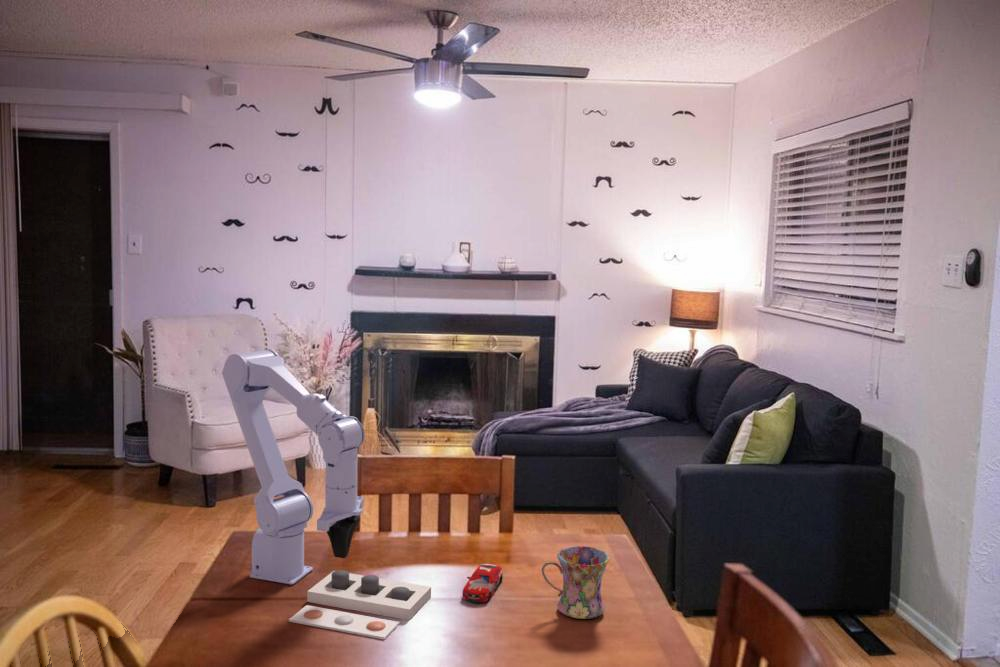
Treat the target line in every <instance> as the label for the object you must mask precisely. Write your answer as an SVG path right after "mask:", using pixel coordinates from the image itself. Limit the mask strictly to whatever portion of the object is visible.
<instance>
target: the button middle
mask: <svg viewBox="0 0 1000 667" xmlns="http://www.w3.org/2000/svg"><path fill="white" fill-rule="evenodd" d="M379 578H380V577H379V576H377V575H374V574H367V575H363V577H362V578H361V593H362V594H368V595H374V596H376V595H375V594H377V593H378V592H379Z"/></svg>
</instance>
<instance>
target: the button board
mask: <svg viewBox="0 0 1000 667" xmlns="http://www.w3.org/2000/svg"><path fill="white" fill-rule="evenodd" d="M334 571H335V570H333V571H331V572H330V573H329V574H327V575H326V576H325V577H324V578H323V579H321V580H320V581H319V582H317V583H315V585H314V586H312V587H311V588H309V589H308V590H307V591H306V592H307V595H306V596H307V599H306V600H307V601H306V602H307V603H312V604H318V605H324V606H327V607H328V606H329V607H335V608H340V609H344V610H350V611H351V610H352V611H356V612H362V613H367V614H372V615H379V616H385V617H390V618H396V619H399V620H407V621H410V620H412V618H414V616H415V615H416V614H417V613H418V612H419V611H420V610H421V608H422V607H424V606H425V604H427V603H428V602H429V600H430V599H431V597H432V586H428V585H427V586H426V585H421V584H416V583H409V582H404V581H403V582H402V581H399V580H398V581H397V580H392V579H387V578H380V577H379V592H378V593H377V594H375V595H368V594H362V593H361V578H362V577H363V576H364V575H363V574H362V575H361V574H356V573H351V572H349V588H347V589H345V590H340V589H334V588H332V573H333V572H334ZM395 587H406V588H408V589H409V599H408V600H407V601H402V600H397V599H391V590H392V589H393V588H395Z"/></svg>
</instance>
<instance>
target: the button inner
mask: <svg viewBox="0 0 1000 667" xmlns="http://www.w3.org/2000/svg"><path fill="white" fill-rule="evenodd" d="M333 571H334V572H333ZM333 571H332V572H333V573H332V572H331V573H332V588H334V589H340V590H345V589H347V588H349V573H350V572H349V571H348V570H344V569H343V570H342V569H339V570H333ZM345 591H346V590H345Z"/></svg>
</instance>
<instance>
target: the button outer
mask: <svg viewBox="0 0 1000 667" xmlns="http://www.w3.org/2000/svg"><path fill="white" fill-rule="evenodd" d="M391 599H397V600H402V601H407V600H408V599H409V589H408V588H406V587H395V588H393V589H392V590H391Z"/></svg>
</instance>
